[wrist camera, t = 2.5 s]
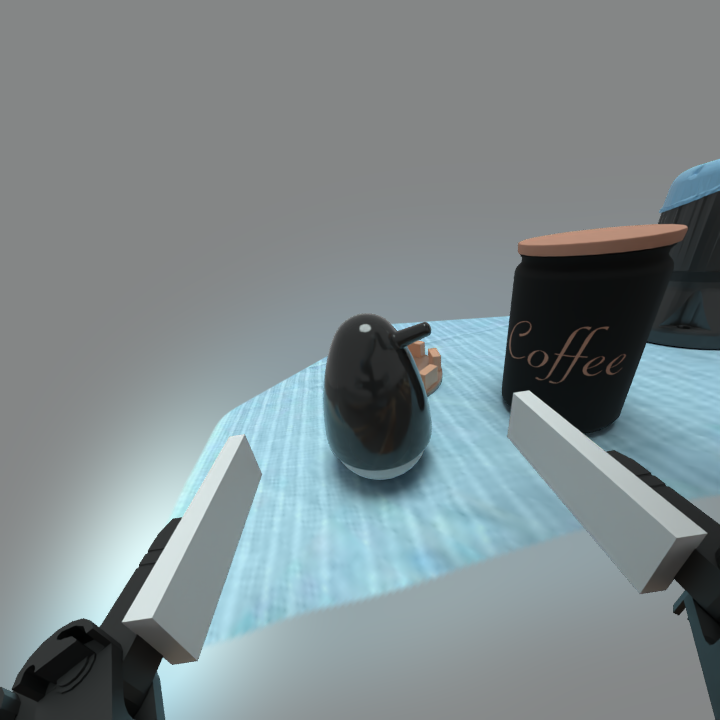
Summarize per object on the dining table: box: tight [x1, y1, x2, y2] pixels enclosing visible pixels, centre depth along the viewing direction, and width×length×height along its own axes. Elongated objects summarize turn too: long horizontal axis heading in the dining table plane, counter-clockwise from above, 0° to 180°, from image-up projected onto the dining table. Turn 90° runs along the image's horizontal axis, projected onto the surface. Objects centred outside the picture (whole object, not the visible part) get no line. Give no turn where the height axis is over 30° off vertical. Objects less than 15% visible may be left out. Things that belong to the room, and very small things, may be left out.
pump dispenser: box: [323, 314, 432, 480], centre depth 23 cm, size 10×10×15 cm
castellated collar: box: [407, 341, 442, 396], centre depth 40 cm, size 16×16×3 cm
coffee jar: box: [502, 224, 688, 433], centre depth 26 cm, size 11×11×18 cm
